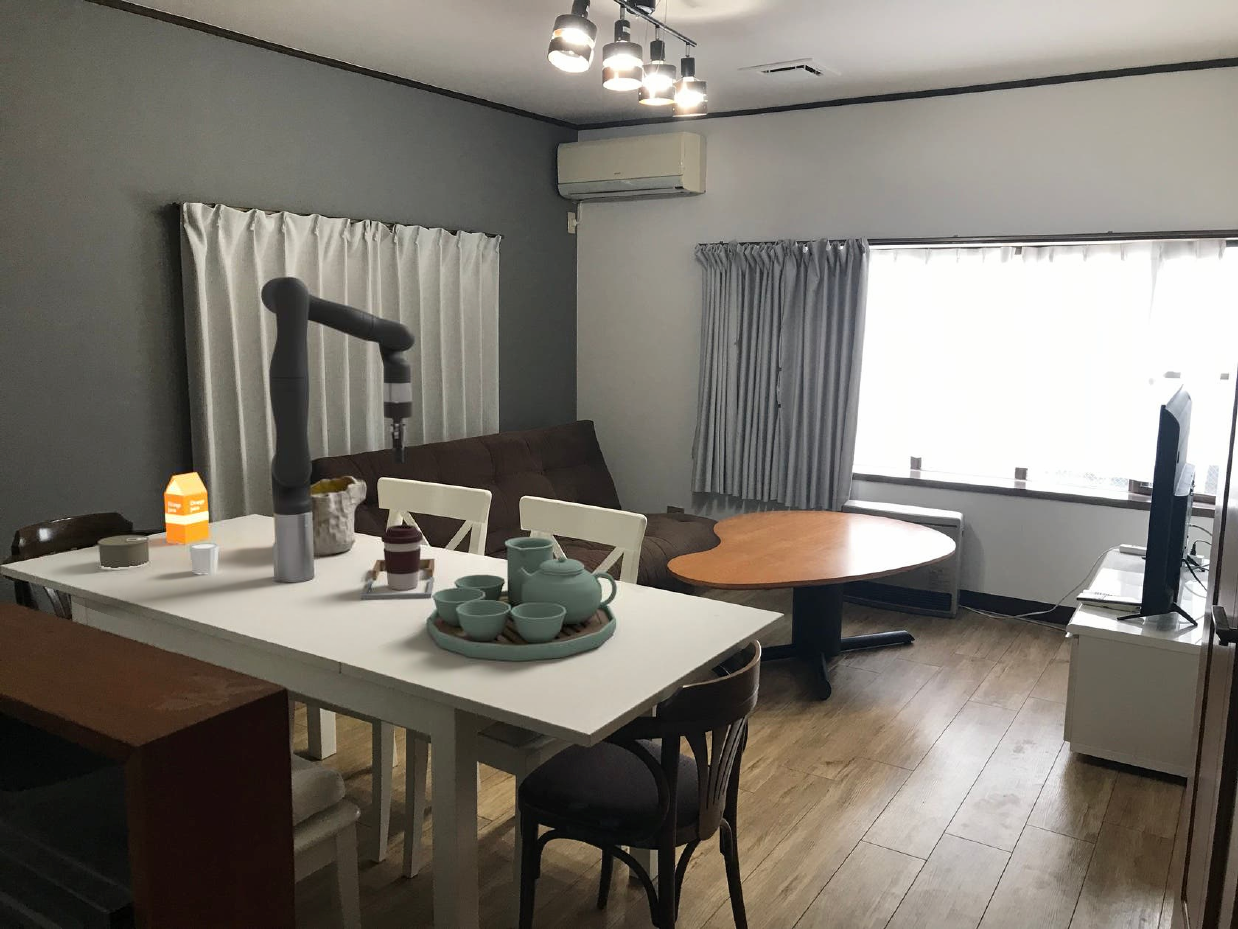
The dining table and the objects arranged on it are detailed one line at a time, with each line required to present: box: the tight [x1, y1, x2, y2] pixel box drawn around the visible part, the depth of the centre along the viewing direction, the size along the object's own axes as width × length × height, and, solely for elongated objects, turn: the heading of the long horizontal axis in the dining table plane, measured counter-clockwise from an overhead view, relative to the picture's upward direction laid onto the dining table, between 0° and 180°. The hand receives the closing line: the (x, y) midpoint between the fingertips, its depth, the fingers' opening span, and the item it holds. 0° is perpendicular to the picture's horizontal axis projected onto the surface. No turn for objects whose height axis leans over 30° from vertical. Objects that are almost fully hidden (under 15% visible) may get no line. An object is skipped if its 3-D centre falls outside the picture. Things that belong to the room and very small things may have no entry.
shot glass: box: [189, 543, 219, 574], centre depth 248 cm, size 7×7×7 cm
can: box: [97, 534, 150, 568], centre depth 254 cm, size 12×12×7 cm
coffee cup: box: [380, 524, 424, 591], centre depth 236 cm, size 10×10×15 cm
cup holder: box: [371, 558, 435, 581], centre depth 249 cm, size 15×12×2 cm
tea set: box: [426, 536, 618, 662], centre depth 204 cm, size 40×40×16 cm
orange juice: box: [163, 471, 210, 544], centre depth 282 cm, size 8×9×20 cm
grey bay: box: [361, 576, 435, 600], centre depth 234 cm, size 16×15×1 cm
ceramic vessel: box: [310, 475, 367, 557], centre depth 272 cm, size 23×24×25 cm
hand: (398, 463), depth 259 cm, fingers closed
